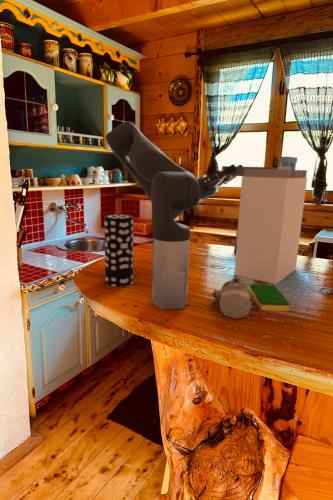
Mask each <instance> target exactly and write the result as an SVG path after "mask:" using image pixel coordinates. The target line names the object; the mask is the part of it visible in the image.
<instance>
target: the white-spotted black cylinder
mask: <svg viewBox="0 0 333 500" xmlns="http://www.w3.org/2000/svg"><path fill="white" fill-rule="evenodd" d="M103 221H104V222H103V224H104V269H105V271H104V273H105V275H104V278H105V284H106V285H107V286H111V287H126V286H130V285H132V284H133V283H134V216H133V215H131V214H106V215H104V219H103Z"/></svg>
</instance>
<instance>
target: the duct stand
mask: <svg viewBox="0 0 333 500" xmlns="http://www.w3.org/2000/svg"><path fill="white" fill-rule="evenodd" d="M279 162H280V167H292V175H291V170H274V169H244V176H241V187H240V195H239V197H240V199H239V211H238V212H239V213H238V214H239V215H238V223H237V228H238V234H237V233H236V234H237V247H236V254H235V260H234V262H235V263H234V273H233V274H234V275H235V276H238V277H243V278H246V279H252V280H255V281H260V282H264V283H268V284H272V285H277V284H278V283H280V282H281V281H282V280H284V279H285V278H286V277H288V276H289V275H290V273H291V274H292V273H294V272H295V271H296V269H297V261H298V255H299V253H298V252H299V246H300V240H301V239H300V238H301V229H302V223H303V214H304V206H305V200H306V199H305V198H306V189H307V188H306V187H307V182H308V177H307V174H308V171H307V170H308V169H307V170H306V169H305V170H304V169H296V166H297V162H298V157H294V156H293V157H292V156H280V161H279ZM290 177H291V178H290ZM294 270H295V271H294Z"/></svg>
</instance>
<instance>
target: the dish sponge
mask: <svg viewBox="0 0 333 500" xmlns="http://www.w3.org/2000/svg"><path fill="white" fill-rule="evenodd" d="M248 289H249V291H248V292H250V294H251V295H253V296H254V298H253V300H254V302H255V303H256V305H257V306H258V307H259V309H260V310H261V311H274V312H275V311H279V312H280V311H281V312H284V311H285V312H289V310H290V302H289V300H287V299H286V297H285V296H284V295H283V294H282V293H281V292H280V290H279V289H278V288H277V287H276V285H275V284H253V283H252V284H249V288H248Z"/></svg>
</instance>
